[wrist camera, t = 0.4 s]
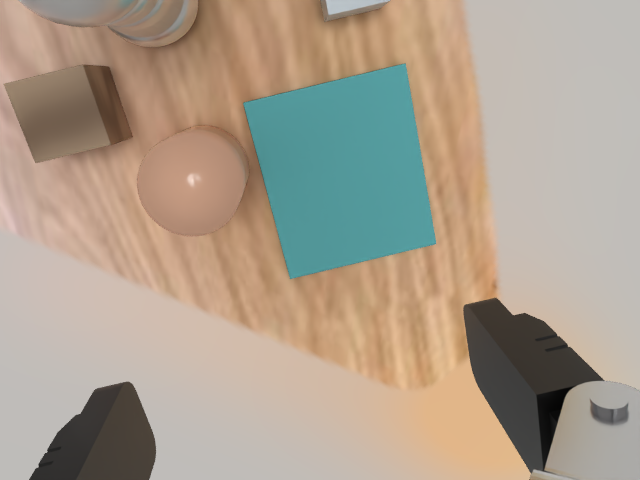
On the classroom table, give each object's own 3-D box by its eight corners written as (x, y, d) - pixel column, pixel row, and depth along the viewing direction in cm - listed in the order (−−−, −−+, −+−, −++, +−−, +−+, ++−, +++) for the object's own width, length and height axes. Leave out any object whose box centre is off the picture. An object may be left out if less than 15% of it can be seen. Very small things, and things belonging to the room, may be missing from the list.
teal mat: (243, 102, 38) (243, 102, 37) (404, 63, 38) (405, 63, 37) (290, 277, 42) (290, 278, 41) (434, 242, 42) (436, 243, 41)
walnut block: (40, 83, 36) (3, 84, 32) (109, 66, 36) (82, 64, 32) (67, 152, 38) (35, 163, 33) (132, 136, 38) (110, 145, 33)
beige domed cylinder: (151, 136, 38) (122, 148, 31) (235, 116, 38) (225, 123, 31) (178, 218, 40) (156, 246, 33) (258, 199, 40) (253, 223, 33)
